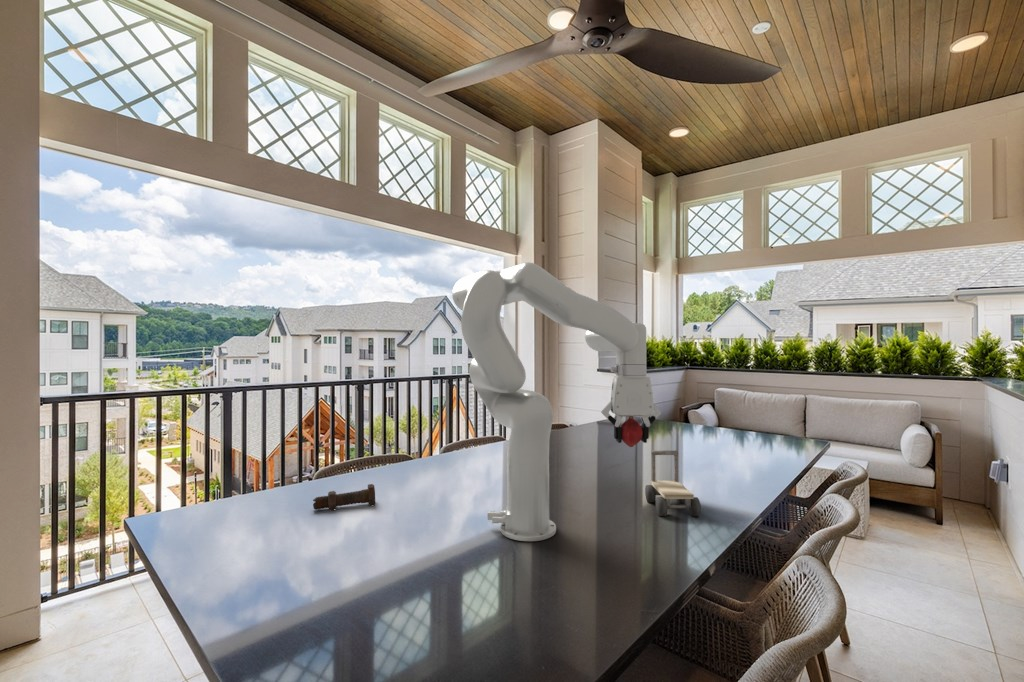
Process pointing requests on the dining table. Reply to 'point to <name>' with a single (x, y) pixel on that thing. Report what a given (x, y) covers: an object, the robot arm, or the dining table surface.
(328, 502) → the bolt
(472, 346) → the robot arm
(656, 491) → the trolley
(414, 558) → the dining table surface
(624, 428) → the onion
